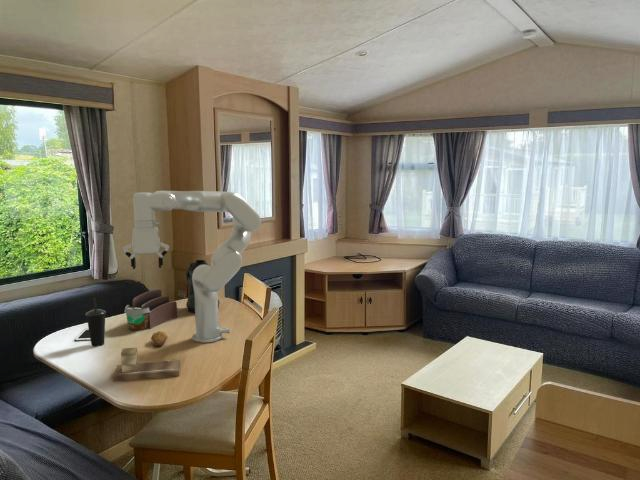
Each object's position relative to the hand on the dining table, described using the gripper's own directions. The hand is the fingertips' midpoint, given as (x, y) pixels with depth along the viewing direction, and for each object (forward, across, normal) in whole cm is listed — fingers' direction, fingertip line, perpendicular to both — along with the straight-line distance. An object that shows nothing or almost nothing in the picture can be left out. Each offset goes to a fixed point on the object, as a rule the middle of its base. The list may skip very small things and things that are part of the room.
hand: (147, 267), depth 196 cm
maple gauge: (+31, +5, +24) cm, 40 cm away
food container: (+34, +10, -26) cm, 44 cm away
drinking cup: (+34, +22, -10) cm, 41 cm away
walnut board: (+33, -1, +24) cm, 41 cm away
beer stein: (+34, -19, -52) cm, 65 cm away
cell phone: (+34, +28, -23) cm, 50 cm away
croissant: (+34, -2, -7) cm, 35 cm away
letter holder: (+34, +1, -36) cm, 50 cm away
